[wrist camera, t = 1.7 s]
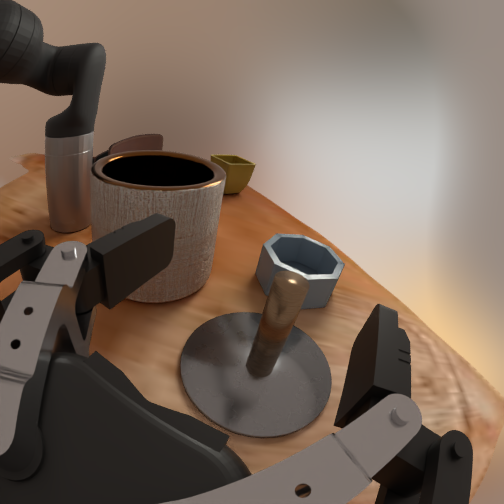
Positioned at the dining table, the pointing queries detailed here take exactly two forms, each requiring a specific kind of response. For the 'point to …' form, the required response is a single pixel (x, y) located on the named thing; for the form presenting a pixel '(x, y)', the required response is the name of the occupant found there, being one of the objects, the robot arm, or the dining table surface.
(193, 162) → the planter
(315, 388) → the spindle on round base
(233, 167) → the flower pot
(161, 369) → the dining table surface
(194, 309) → the dining table surface
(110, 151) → the letter holder
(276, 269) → the bowl
